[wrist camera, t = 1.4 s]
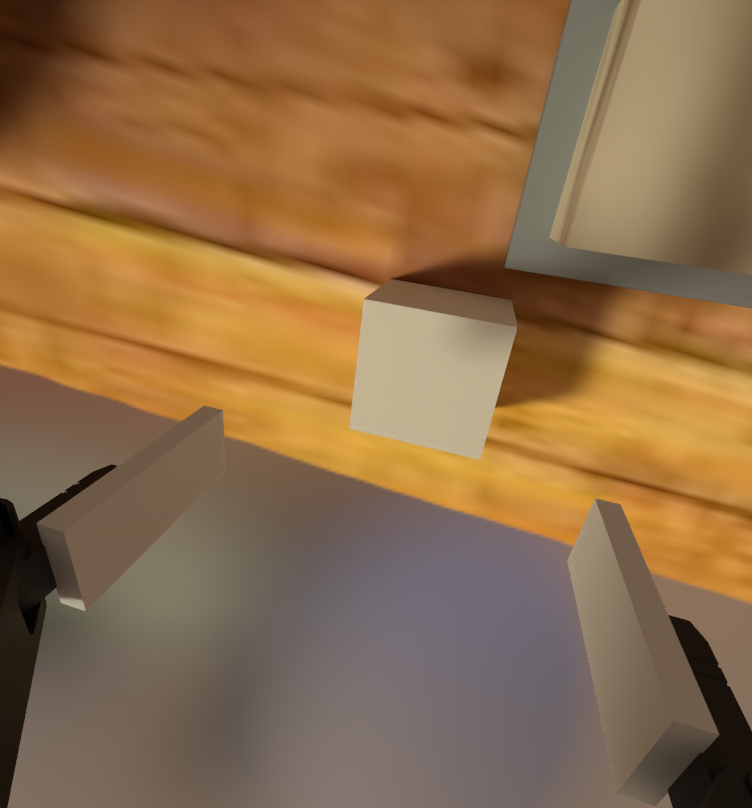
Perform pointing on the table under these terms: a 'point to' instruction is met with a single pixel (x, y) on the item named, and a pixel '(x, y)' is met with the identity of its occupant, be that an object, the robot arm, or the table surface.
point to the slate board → (549, 174)
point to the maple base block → (667, 139)
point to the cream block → (431, 365)
